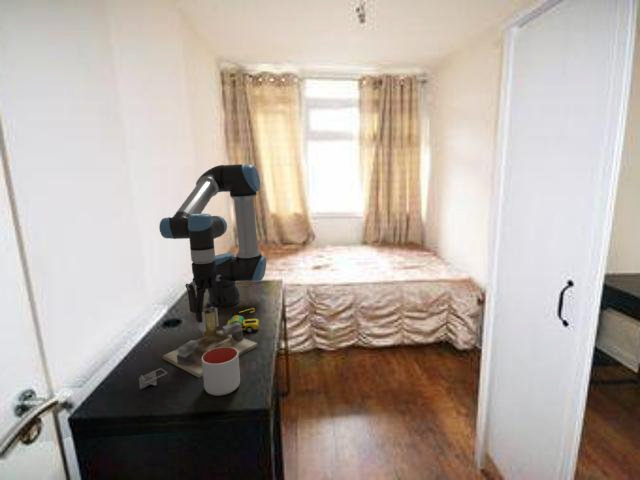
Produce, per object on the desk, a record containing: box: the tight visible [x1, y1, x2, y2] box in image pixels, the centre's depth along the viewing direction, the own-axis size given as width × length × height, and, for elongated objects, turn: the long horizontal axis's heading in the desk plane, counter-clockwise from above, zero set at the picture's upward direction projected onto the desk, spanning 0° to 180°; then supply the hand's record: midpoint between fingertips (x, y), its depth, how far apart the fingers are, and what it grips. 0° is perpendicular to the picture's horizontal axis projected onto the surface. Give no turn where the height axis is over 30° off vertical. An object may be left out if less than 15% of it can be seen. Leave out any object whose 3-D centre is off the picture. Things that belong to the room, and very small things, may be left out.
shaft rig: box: [162, 322, 258, 378], centre depth 123 cm, size 25×20×7 cm
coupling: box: [202, 307, 217, 337], centre depth 121 cm, size 4×4×9 cm
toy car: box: [226, 307, 260, 333], centre depth 140 cm, size 12×8×8 cm, turn 97°
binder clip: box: [138, 367, 168, 390], centre depth 104 cm, size 6×4×6 cm, turn 141°
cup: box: [202, 347, 241, 397], centre depth 102 cm, size 10×10×10 cm
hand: (209, 327), depth 121 cm, fingers closed on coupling, 4 cm apart
